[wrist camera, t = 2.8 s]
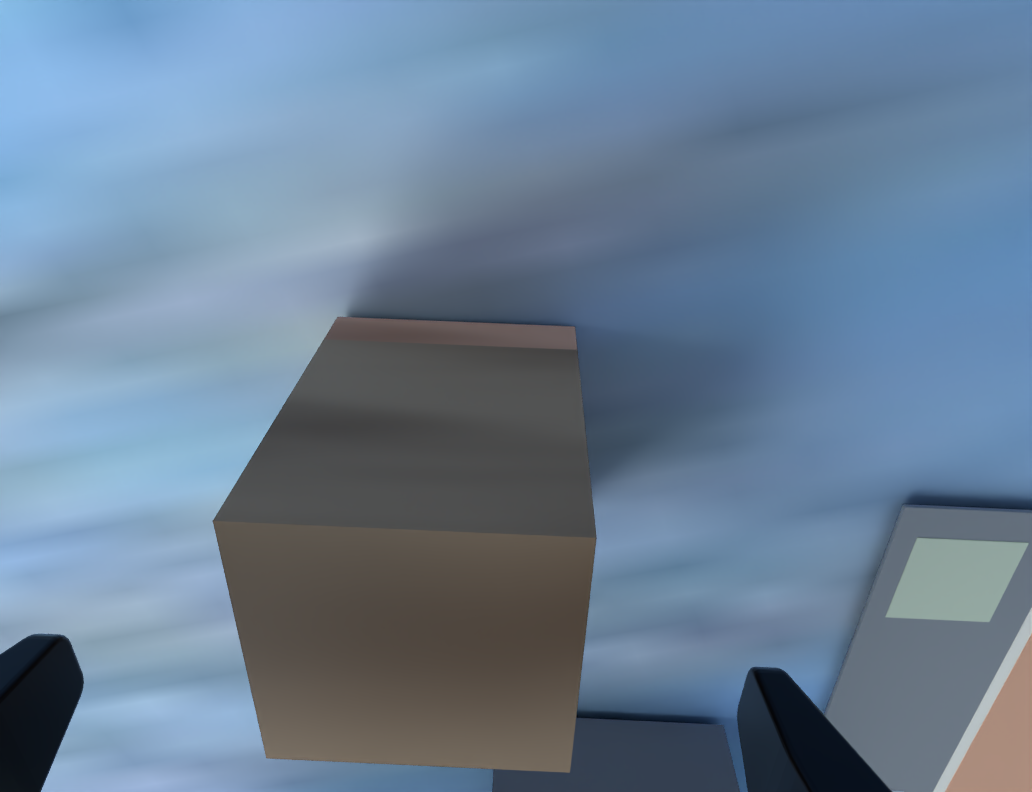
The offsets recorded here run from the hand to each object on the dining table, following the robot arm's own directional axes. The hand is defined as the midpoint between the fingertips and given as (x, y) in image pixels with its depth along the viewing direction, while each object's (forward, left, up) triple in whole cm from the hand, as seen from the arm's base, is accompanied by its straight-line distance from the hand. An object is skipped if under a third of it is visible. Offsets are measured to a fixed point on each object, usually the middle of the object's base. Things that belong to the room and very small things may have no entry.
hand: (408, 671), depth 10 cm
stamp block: (0, 0, -6) cm, 6 cm away
